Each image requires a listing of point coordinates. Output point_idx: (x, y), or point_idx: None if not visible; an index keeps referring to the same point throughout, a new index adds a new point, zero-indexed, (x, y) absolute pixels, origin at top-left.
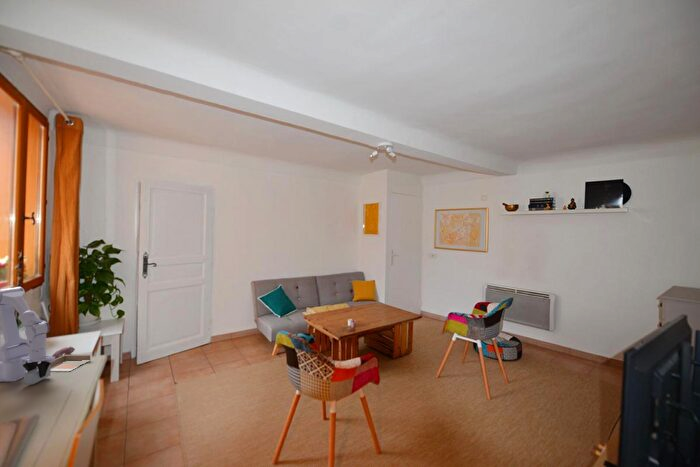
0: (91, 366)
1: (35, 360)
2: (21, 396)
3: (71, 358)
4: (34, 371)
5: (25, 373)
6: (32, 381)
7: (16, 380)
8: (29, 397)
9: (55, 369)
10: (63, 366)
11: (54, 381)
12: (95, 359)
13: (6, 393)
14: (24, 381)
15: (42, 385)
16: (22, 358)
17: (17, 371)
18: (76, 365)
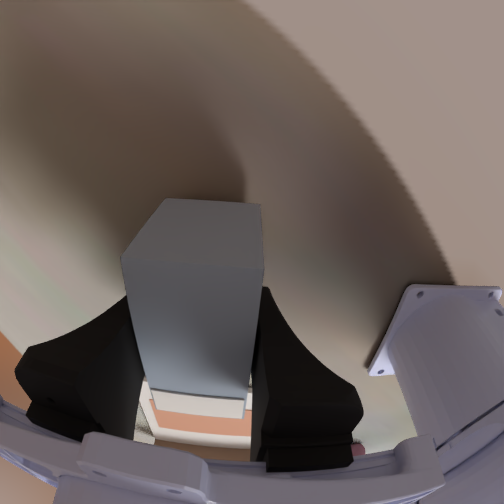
0: None
1: (68, 465)
2: (111, 25)
3: (246, 460)
4: (170, 315)
5: (246, 268)
6: (165, 209)
7: (403, 295)
8: (44, 31)
9: (247, 402)
10: (231, 420)
11: (87, 265)
12: (152, 444)
13: (314, 74)
14: (259, 214)
15: (110, 206)
16: (414, 495)
17: (431, 354)
18: (164, 419)
